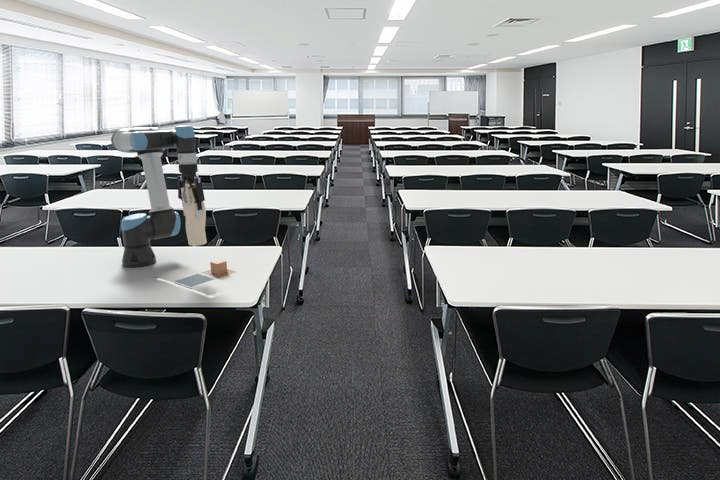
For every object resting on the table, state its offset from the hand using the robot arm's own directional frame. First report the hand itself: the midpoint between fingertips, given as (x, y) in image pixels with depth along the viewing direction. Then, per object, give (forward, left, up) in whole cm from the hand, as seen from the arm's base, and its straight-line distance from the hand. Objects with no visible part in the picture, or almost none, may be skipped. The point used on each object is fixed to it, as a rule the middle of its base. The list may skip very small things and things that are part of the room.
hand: (193, 216), depth 225 cm
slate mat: (+5, -5, -28) cm, 29 cm away
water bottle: (+1, 0, -12) cm, 13 cm away
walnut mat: (+5, +8, -28) cm, 29 cm away
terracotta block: (+5, +8, -27) cm, 28 cm away
